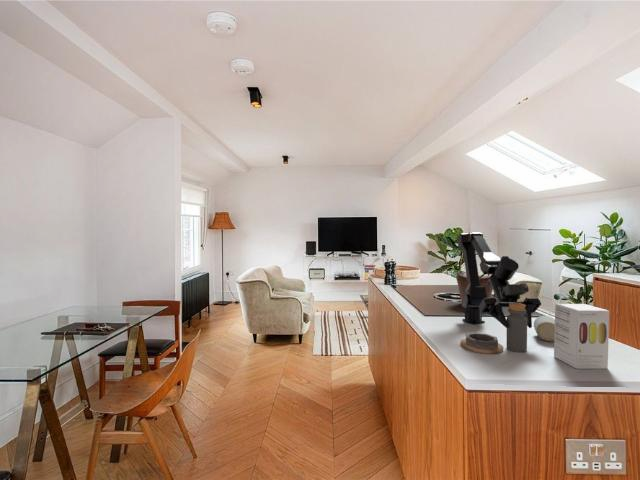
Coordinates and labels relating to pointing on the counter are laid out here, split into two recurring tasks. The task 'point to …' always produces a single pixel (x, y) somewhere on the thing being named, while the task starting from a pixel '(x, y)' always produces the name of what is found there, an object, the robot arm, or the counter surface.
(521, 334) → the bottle
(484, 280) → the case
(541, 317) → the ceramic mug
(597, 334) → the supplement box
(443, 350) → the counter surface
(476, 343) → the ring coaster
